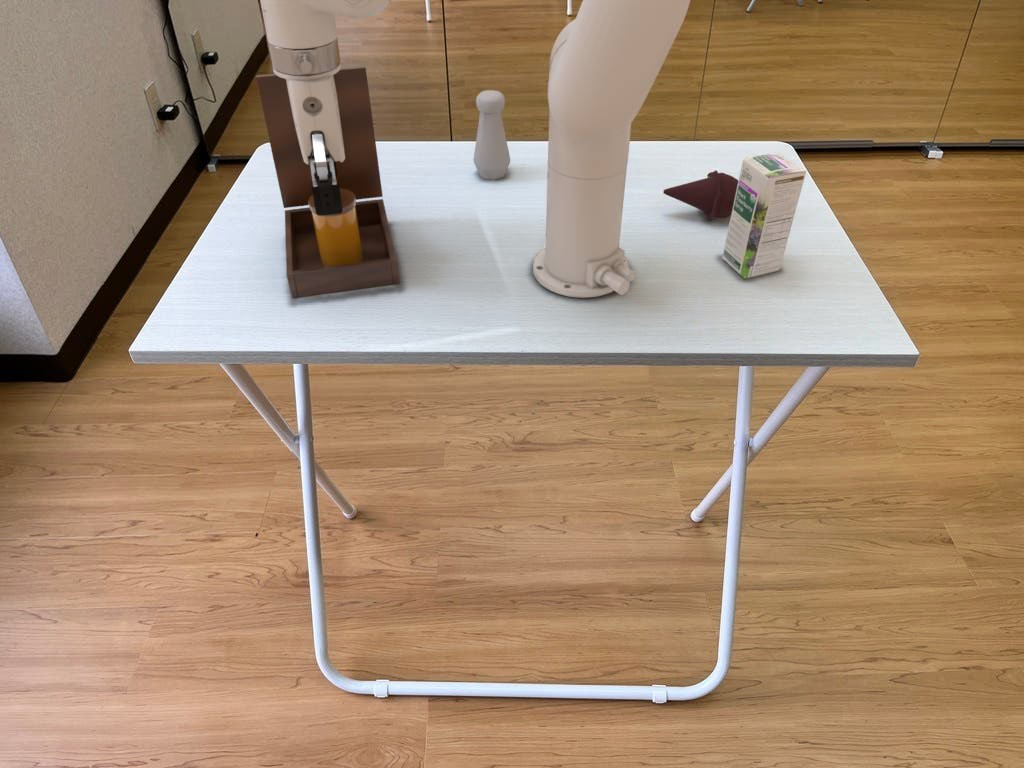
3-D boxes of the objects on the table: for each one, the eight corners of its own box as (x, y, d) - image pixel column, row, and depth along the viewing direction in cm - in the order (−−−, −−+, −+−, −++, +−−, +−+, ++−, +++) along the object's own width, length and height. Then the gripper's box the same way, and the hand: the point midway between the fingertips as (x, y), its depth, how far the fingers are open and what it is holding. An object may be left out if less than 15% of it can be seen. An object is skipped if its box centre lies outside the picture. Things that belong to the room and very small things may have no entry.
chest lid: (365, 67, 99) (365, 65, 99) (255, 77, 96) (255, 75, 97) (382, 196, 109) (382, 194, 110) (283, 208, 107) (283, 206, 107)
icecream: (671, 190, 107) (778, 199, 107) (667, 154, 111) (770, 163, 111) (659, 227, 112) (761, 235, 113) (656, 191, 116) (754, 199, 117)
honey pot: (366, 267, 103) (355, 198, 96) (321, 273, 102) (307, 203, 95) (362, 244, 107) (352, 177, 100) (319, 250, 106) (305, 182, 99)
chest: (400, 288, 100) (396, 260, 98) (293, 303, 98) (286, 274, 95) (386, 225, 112) (382, 198, 110) (290, 237, 110) (284, 210, 107)
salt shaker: (506, 183, 122) (505, 102, 113) (470, 180, 123) (466, 99, 114) (513, 167, 126) (512, 87, 118) (479, 164, 127) (476, 84, 119)
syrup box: (720, 258, 105) (740, 157, 96) (756, 249, 107) (780, 149, 97) (743, 280, 101) (767, 177, 92) (781, 271, 103) (808, 169, 93)
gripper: (344, 81, 81) (363, 225, 93) (334, 29, 94) (352, 162, 105) (271, 86, 80) (299, 232, 91) (270, 33, 92) (295, 167, 104)
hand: (327, 194), depth 98 cm, fingers open, 9 cm apart
